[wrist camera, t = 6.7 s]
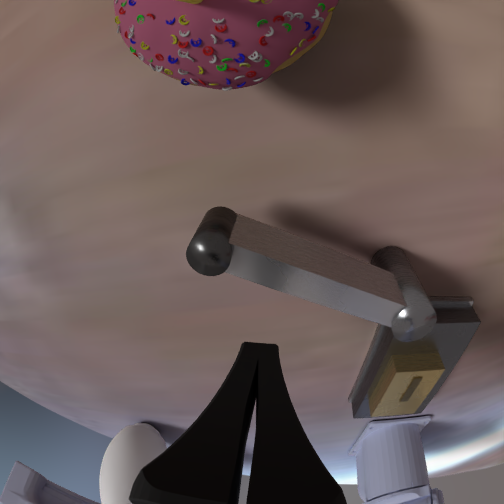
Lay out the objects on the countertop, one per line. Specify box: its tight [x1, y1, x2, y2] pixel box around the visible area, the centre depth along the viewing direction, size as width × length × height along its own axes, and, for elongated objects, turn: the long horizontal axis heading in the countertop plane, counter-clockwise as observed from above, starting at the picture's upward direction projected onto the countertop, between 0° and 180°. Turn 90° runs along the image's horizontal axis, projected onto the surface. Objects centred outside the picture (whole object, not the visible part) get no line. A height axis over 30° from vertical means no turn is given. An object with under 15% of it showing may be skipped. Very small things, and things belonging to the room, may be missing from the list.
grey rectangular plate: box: [348, 297, 481, 418], centre depth 22 cm, size 13×7×2 cm, turn 179°
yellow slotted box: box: [368, 353, 445, 417], centre depth 20 cm, size 6×4×2 cm, turn 179°
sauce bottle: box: [100, 423, 167, 504], centre depth 26 cm, size 8×8×18 cm
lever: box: [186, 207, 437, 342], centre depth 15 cm, size 12×2×6 cm, turn 70°
